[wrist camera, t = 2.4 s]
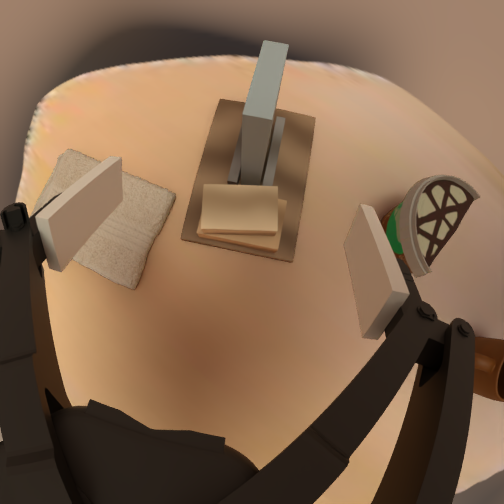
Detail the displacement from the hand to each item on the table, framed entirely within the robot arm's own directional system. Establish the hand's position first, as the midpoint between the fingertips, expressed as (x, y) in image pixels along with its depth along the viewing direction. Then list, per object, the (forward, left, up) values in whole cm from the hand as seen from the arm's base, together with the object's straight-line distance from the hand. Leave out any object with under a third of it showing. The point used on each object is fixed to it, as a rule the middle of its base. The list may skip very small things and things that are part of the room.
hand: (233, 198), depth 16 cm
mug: (-23, -25, -17) cm, 38 cm away
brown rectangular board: (+8, -4, -17) cm, 19 cm away
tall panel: (+9, -5, -16) cm, 19 cm away
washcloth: (+8, +15, -18) cm, 25 cm away
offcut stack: (+2, -1, -16) cm, 16 cm away
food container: (-3, -19, -17) cm, 26 cm away
